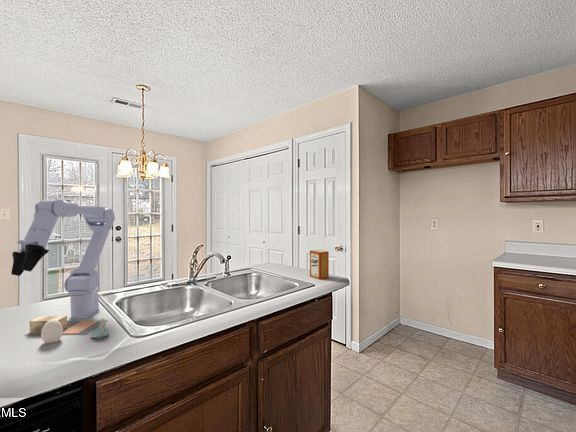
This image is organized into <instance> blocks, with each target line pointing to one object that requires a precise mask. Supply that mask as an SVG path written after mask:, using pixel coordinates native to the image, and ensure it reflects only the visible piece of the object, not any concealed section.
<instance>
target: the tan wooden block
mask: <svg viewBox="0 0 576 432" xmlns="http://www.w3.org/2000/svg"><path fill="white" fill-rule="evenodd" d="M67 316H68V315H43V316H42V315H40V316H37V317H36V318H33V319H32V320H29V322H28V323H29V333H41V331H42V328H43V326H44V325H45V324H46V323H47V322H48V321H50V320H57V321H59V322H60V323H61V325H62V328H63V329H65V328H67V321H68V318H67Z"/></svg>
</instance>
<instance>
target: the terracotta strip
mask: <svg viewBox="0 0 576 432" xmlns="http://www.w3.org/2000/svg"><path fill="white" fill-rule="evenodd" d="M80 321H81V322H79V323H77V324H76V325H74V326H72V327H70V328H68V329H67V330H65V331H63V334H79V333H80V332H82V331H84V330H85V329H87V328H88V327H90V326H92V325H93V324H95V323H97V322H98V321H99V320H80Z"/></svg>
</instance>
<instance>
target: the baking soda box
mask: <svg viewBox="0 0 576 432" xmlns="http://www.w3.org/2000/svg"><path fill="white" fill-rule="evenodd" d="M329 254H330V253H329V251H327V250H321V249H313V250H309V277H311V278H313V279H317V280H326V279H329V274H330V273H329V268H330V267H329V262H330V261H329V256H330V255H329Z"/></svg>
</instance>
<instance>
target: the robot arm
mask: <svg viewBox="0 0 576 432" xmlns="http://www.w3.org/2000/svg"><path fill="white" fill-rule="evenodd" d="M78 214H79V215H82V218H84V221H85V224H87V227H88V228H89V230H90V231H92V232H93V233H92V235H91V237H90V240H89V243H88V245H87V247H86V250H85V253H84V255H83V257H82V260H81V262H80V264H79V266H78V267H76V268H75V269H73V270H71V271H70V273H69V274H68V276H66V279H65V280H64V283H63V287H64V290H65V291H66V292H67V293H68V295H69V297H70V299H69V300H70V314H69V315H66V316H67V319H81V318H82V319H84V318H85V319H86V318H88V317H90V316H92V315H93V314H95V313H97V312H99V311H100V310H102V309H101V308H100V305H99V301H100V300H99V299H100V295H99V293H98V291H97V290H96V289H97V288H98V286H99V280H100V279H99V278H100V273H99V272H98V271H97V270H96V267H97V265H98V262H99V260H100V257H101V254H102V251H103V250H104V248H105V244H106V242H107V241H106V240H107V239H108V235H109V233H110V230H111V229H112V228H113V225H114V222H115V219H116V217H115V212H114V210H113V209H112V208H110V207H105V206H97V205H79V204H78V203H77V202H75V201H72V199H64V200H63V199H60V198H55V199H42V200H40V201H39V202H37V203H35V205H34V214H33V220H32V222H31V224H30V227H29V228H28V230H27V232H26V235H25V237H24V238H23V240H22V239H19V240H17V242H16V244H19V245H20V249H19V251H13V252H12V253H11V254H12V267H11V272H10V273H11V275H13V276H17V277H20V276H21V275H22V274H23V273H24V271H26V272H32V270H34V268H35V267H36V266H37V264H38V263H39V262H40V261H41V259H42V258H43V257H44V256H45V255H46V254H48V253H49V252H50V250H48V249H46V248H47V245H48V242H49V240H50V237H51V235H52V233H53V231H54V228H55V226H56V224H57V223H58V220H59V218H63V217H64V218H65V217H66V218H74V217H76V216H77V215H78Z"/></svg>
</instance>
